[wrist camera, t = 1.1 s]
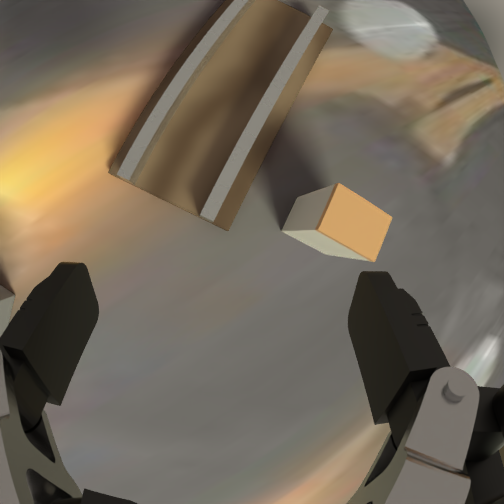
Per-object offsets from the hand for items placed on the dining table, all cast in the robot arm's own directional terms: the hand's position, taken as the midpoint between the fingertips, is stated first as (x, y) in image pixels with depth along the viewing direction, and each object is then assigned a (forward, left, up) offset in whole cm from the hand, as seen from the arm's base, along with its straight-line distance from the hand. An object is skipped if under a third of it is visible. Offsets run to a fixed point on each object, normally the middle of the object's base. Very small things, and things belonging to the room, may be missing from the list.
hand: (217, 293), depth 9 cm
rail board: (-5, +16, -20) cm, 26 cm away
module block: (+8, +7, -20) cm, 22 cm away
